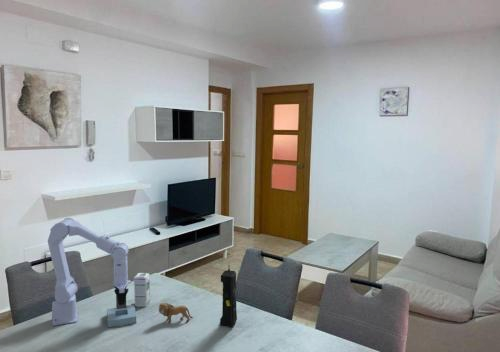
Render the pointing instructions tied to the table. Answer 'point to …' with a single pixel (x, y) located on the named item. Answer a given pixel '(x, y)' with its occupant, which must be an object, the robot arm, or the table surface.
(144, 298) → the syrup box
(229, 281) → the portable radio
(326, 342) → the table surface
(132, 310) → the socket plate
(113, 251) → the robot arm
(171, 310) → the lion figurine
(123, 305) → the plug
